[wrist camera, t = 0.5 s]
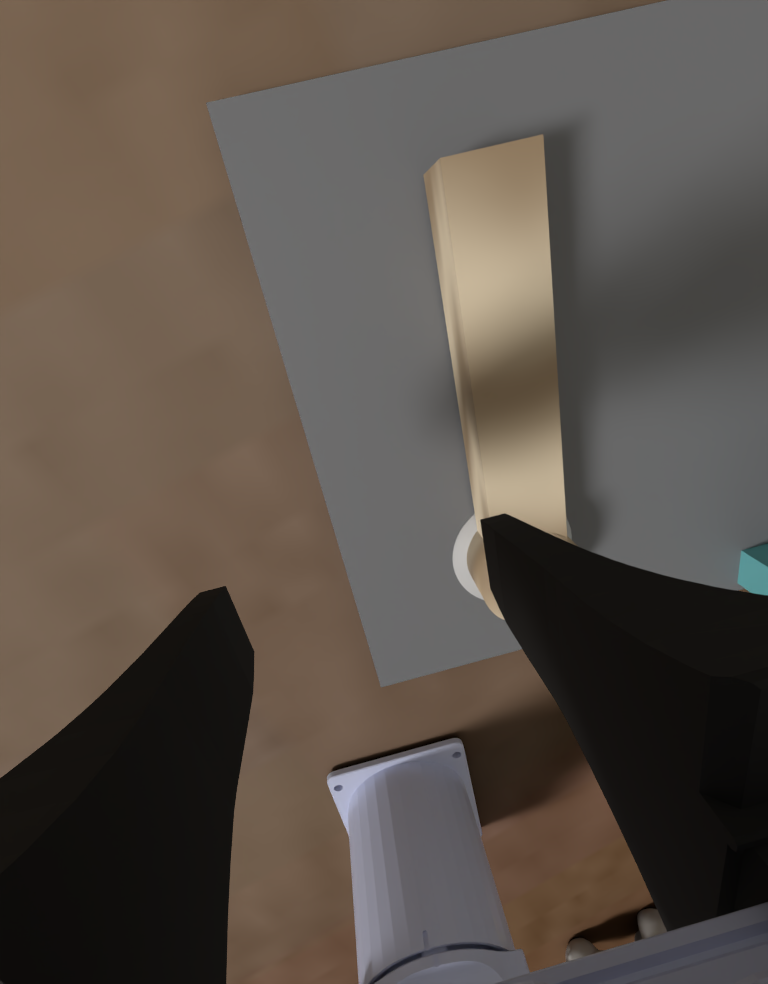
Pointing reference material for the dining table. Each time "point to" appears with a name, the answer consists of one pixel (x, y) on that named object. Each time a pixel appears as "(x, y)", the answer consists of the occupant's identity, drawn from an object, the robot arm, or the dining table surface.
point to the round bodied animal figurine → (648, 927)
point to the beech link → (501, 334)
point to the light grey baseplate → (576, 299)
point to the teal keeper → (754, 569)
